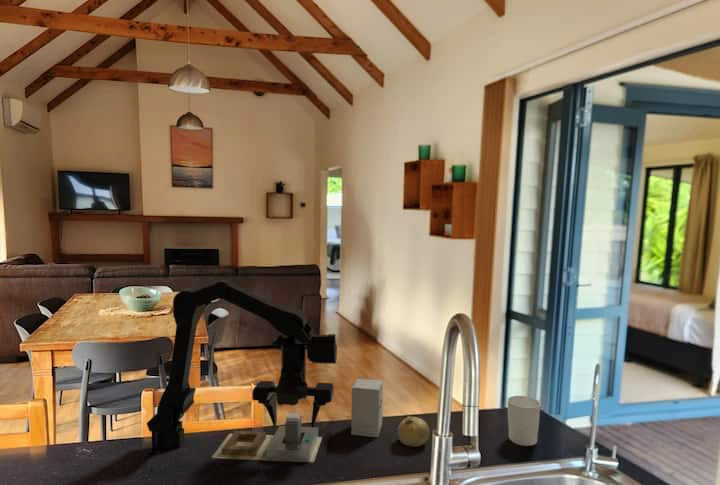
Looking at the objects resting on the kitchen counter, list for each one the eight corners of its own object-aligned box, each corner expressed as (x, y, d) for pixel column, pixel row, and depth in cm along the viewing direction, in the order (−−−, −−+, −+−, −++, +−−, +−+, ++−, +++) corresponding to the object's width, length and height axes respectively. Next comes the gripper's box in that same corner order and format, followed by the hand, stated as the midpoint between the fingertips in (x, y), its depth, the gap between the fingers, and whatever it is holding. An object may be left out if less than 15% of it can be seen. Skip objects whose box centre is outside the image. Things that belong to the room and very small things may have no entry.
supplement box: (378, 438, 120) (378, 389, 120) (350, 435, 122) (350, 387, 121) (383, 425, 128) (383, 379, 127) (356, 422, 129) (356, 377, 128)
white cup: (505, 443, 118) (506, 404, 117) (507, 430, 125) (508, 393, 124) (538, 449, 115) (540, 410, 114) (539, 435, 122) (540, 398, 121)
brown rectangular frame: (222, 454, 110) (221, 448, 110) (235, 436, 119) (235, 430, 118) (255, 456, 109) (255, 449, 109) (266, 437, 118) (266, 432, 118)
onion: (400, 434, 123) (401, 407, 122) (431, 438, 121) (431, 411, 120) (394, 448, 115) (394, 420, 115) (427, 453, 113) (427, 424, 112)
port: (266, 460, 107) (266, 447, 107) (279, 435, 119) (279, 424, 119) (309, 461, 107) (309, 449, 106) (318, 437, 119) (318, 425, 118)
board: (211, 461, 108) (211, 457, 108) (229, 437, 120) (229, 433, 120) (313, 466, 107) (313, 462, 106) (322, 441, 118) (322, 437, 118)
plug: (285, 452, 111) (285, 419, 110) (289, 443, 115) (289, 411, 115) (297, 452, 111) (297, 419, 110) (301, 443, 115) (301, 411, 115)
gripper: (244, 372, 104) (245, 440, 105) (327, 375, 103) (327, 444, 104) (258, 357, 115) (259, 419, 116) (334, 359, 114) (334, 422, 115)
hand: (293, 426), depth 113 cm, fingers open, 9 cm apart
